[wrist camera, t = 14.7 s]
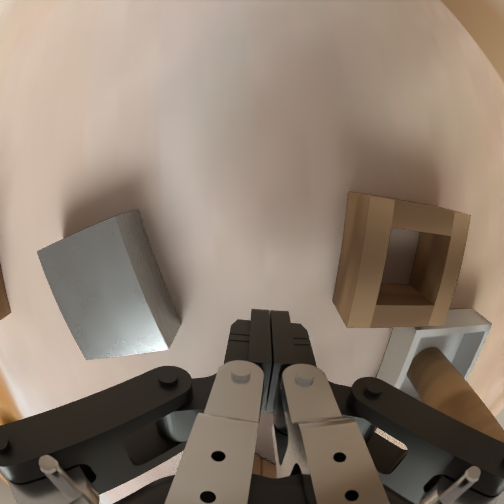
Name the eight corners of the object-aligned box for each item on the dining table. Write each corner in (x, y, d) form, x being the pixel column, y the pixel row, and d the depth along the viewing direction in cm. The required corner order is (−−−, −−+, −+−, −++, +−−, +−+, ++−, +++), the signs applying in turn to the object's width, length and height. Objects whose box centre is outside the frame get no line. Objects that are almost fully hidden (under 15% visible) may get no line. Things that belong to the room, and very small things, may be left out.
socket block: (419, 303, 15) (443, 325, 12) (332, 301, 15) (346, 327, 12) (439, 207, 13) (470, 215, 11) (348, 191, 13) (370, 195, 11)
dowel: (431, 378, 16) (492, 471, 6) (400, 382, 16) (457, 490, 6) (446, 345, 15) (522, 437, 6) (415, 348, 15) (491, 456, 6)
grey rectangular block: (182, 321, 16) (168, 349, 13) (106, 336, 17) (86, 359, 14) (140, 208, 14) (114, 216, 11) (66, 239, 15) (36, 251, 12)
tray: (435, 393, 17) (448, 411, 15) (364, 404, 17) (374, 427, 15) (472, 308, 15) (491, 323, 13) (398, 310, 15) (416, 330, 13)
